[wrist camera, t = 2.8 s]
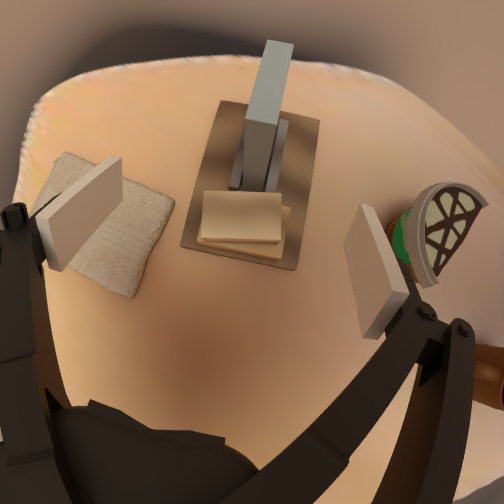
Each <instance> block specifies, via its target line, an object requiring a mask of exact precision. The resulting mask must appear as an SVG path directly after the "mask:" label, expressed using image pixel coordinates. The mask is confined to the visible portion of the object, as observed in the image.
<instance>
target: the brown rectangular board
mask: <svg viewBox="0 0 504 504" xmlns="http://www.w3.org/2000/svg"><path fill="white" fill-rule="evenodd" d="M248 106H249V105H248V104H242V103H236V102H230V101H223V100H221V102H220V105H219V108H218V111H217V114H216V117H215V120H214V124H213V127H212V130H211V133H210V137H209V140H208V143H207V146H206V150H205V153H204V157H203V160H202V164H201V167H200V171H199V174H198V178H197V181H196V185H195V189H194V192H193V196H192V200H191V204H190V208H189V211H188V215H187V219H186V223H185V227H184V231H183V236H182V240H181V244H180V246H181V247H183V248H188V249H192V250H197V251H202V252H206V253H211V254H216V255H221V256H225V257H230V258H235V259H240V260H245V261H249V262H254V263H259V264H264V265H269V266H273V267H278V268H283V269H288V270H293V271H295V270H296V268H297V263H298V257H299V252H300V246H301V241H302V235H303V229H304V223H305V218H306V212H307V205H308V199H309V193H310V187H311V180H312V174H313V167H314V160H315V153H316V146H317V139H318V131H319V123H320V120H317V119H313V118H309V117H305V116H301V115H297V114H293V113H288V112H284V111H280V113H279V117H278V122H277V127H276V131H275V136H274V140H273V144H272V149H271V153H270V158H269V162H268V166H267V171H266V175H265V180H264V184H263V189H262V192H267V193H281V206H286V207H291V209H290V214H289V220H288V225H287V231H286V236H285V241H284V247H283V252H282V257H281V259H280V260H279V261H274V260H269V259H264V258H260V257H255V256H250V255H245V254H240V253H236V252H231V251H226V250H221V249H216V248H212V247H207V246H202V245H200V244H199V243H198V242H197V237H198V233H199V229H200V224H201V220H202V211H203V196H204V191H242V188H243V158H244V131H245V117H246V113H247V110H248ZM242 192H247V191H242Z"/></svg>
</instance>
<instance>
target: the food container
mask: <svg viewBox="0 0 504 504" xmlns="http://www.w3.org/2000/svg"><path fill="white" fill-rule="evenodd" d="M487 205H489V204H488V202H487V201H486V200H485V198H484V197H483V196H482V195H481V194H480V193H479V192H478V191H476V190H475V189H474V188H472V187H470V186H469V185H466V184H463V183H458V182H444V183H438V184H435V185H432V186H429V187H428V188H426V189H425V190H423V191H422V192H421V193H420V194H419V196H418V197H417V199H416V200H415V202H414V204H413V206H412V207H410V208H409V209H408V210H406V211H405V212H403V213H402V214H400V215H399V216H397V217H396V218H394V219H393V220H392V221H391V222H390V223H389V225H388V226H387V228H386V230H385V231H384V232H385V234H386V236H387V239H388V241H389V243H390V246H391V248H392V250H393V253H394V255H395V257H396V258H399V259H402V260H403V261H404V263H405V264H406V265H407V266H408V268H409V270H410V273H411V276H412V277H413V280H414V282H415V283H420V285H421V286H422V288H427V287H431V286H433V285H434V284H439V281H438V280H437V277H438V275H439V273H440V272H441V270H442V269H443V267H444V266H445V265H446V263H447V262H448V260H449V259H450V258H451V256H452V255H453V254H454V252H455V251H456V250H457V249H458V247H459V246H460V245H461V243H462V242H463V241H464V239H465V237H466V235H467V233H468V231H469V229H470V227H471V225H472V223H473V222H474V220H475V218H476V217H477V215H478V213H479V212H480V210H481V208H483V207H485V206H487Z"/></svg>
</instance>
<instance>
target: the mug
mask: <svg viewBox="0 0 504 504" xmlns="http://www.w3.org/2000/svg"><path fill="white" fill-rule="evenodd" d="M472 400H475V401H477V402H479V403H482V404H484V405H487V406H490V407H492V408H495V409H499V410H503V411H504V348H502V347H495V346H488V345H476V346H475V369H474V387H473V399H472Z"/></svg>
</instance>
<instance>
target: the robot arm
mask: <svg viewBox="0 0 504 504" xmlns="http://www.w3.org/2000/svg"><path fill="white" fill-rule="evenodd" d="M122 201H123V188H122V157H114V156H110V157H108V158H107V159H105V160H104V161H103V162H101V163H100V164H98V165H97V166H96V167H94V168H93V169H92V170H90V171H89V172H88V173H86V174H85V175H84V176H83V177H81V178H80V179H79V180H77V181H76V182H75V183H74V184H72V185H71V186H70V187H69V188H67V189H66V190H65V191H64V192H62V193H60V194H58V195H56V196H54V197H53V198H52V199H50V200H49V201H48V203H46V204H45V205H43V207H41V208H40V209H39V210H38V211H37V212H35V213H34V214H33V215H32V216H31V217H30V218H29V217H28V212H27V208H26V204H24V203H20V202H18V203H13V204H11V205H9V206H7V207H6V208H4V209H3V210H2V211H1V214H0V215H1V219H2V222H3V226H4V229H5V230H0V427H1V433H2V437H3V441H1V442H0V504H313V503H314V502H315V501H316V500H317V499H318V498H319V497H320V496H321V495H322V494H323V493H324V492H325V491H326V490H327V489H328V488H329V486H330V485H331V484H332V483H333V482H334V481H335V480H336V479H337V478H338V477H339V475H340V474H341V473H342V472H343V471H344V469H345V468H346V467H347V465H348V463H349V458H350V456H351V455H352V453H353V452H354V451H355V450H356V448H357V447H358V446H359V445H360V443H361V442H362V441H363V440H364V438H365V437H366V436H367V434H368V433H369V432H370V430H371V429H372V428H373V426H374V425H375V424H376V422H377V421H378V420H379V418H380V417H381V415H382V414H383V413H384V411H385V410H386V408H387V407H388V405H389V404H390V402H391V401H392V399H393V398H394V396H395V395H396V393H397V392H398V390H399V389H400V387H401V385H402V384H403V382H404V381H405V379H406V377H407V376H408V374H409V372H410V371H411V369H412V367H413V366H414V364H415V363H418V364H419V365H418V369H417V374H416V378H415V382H414V386H413V390H412V394H411V397H410V401H409V405H408V408H407V412H406V415H405V418H404V421H403V425H402V428H401V431H400V434H399V437H398V440H397V443H396V445H395V448H394V451H393V454H392V456H391V459H390V461H389V464H388V467H387V469H386V471H385V474H384V476H383V479H382V481H381V483H380V486H379V488H378V490H377V492H376V494H375V497H374V499H373V501H372V503H371V504H452V501H453V498H454V495H455V491H456V488H457V484H458V480H459V476H460V472H461V468H462V463H463V459H464V454H465V449H466V443H467V437H468V431H469V425H470V417H471V409H472V399H473V387H474V369H475V334H474V331H473V329H472V327H471V326H470V325H469V323H468V322H466V321H465V320H463V319H460V318H456V319H454V320H453V321H452V322H451V323H450V325H449V324H446V323H444V322H442V321H440V320H438V319H437V314H436V312H435V310H434V309H433V308H432V307H431V306H430V305H429V304H427V303H426V302H424V301H422V300H421V297H420V295H419V292H418V290H417V287H416V285H415V282H414V280H413V277H412V276H411V273H410V270H409V268H408V266H407V265H406V264H405V263H404V261H403V260H402V259H399V258H396V257H395V255H394V253H393V250H392V248H391V246H390V243H389V241H388V239H387V236H386V234H385V232H384V230H383V227H382V225H381V223H380V221H379V219H378V217H377V214H376V212H375V210H374V208H373V207H372V206H368V205H365V204H361V203H360V205H359V208H358V210H357V213H356V215H355V218H354V220H353V223H352V225H351V228H350V230H349V233H348V235H347V238H346V240H345V243H344V248H345V253H346V257H347V262H348V266H349V271H350V276H351V280H352V285H353V290H354V295H355V300H356V306H357V311H358V317H359V323H360V328H361V334H362V338H368V339H376V340H378V339H379V337H380V336H381V335H382V333H383V332H384V331H385V335H386V339H385V341H384V342H383V343H382V345H381V346H380V347H379V348H378V350H377V351H376V352H375V353H374V355H373V356H372V357H371V359H370V360H369V361H368V362H367V363H366V365H365V366H364V367H363V368H362V370H361V371H360V372H359V373H358V374H357V375H356V377H355V378H354V379H353V380H352V381H351V382H350V384H349V385H348V386H347V387H346V388H345V389H344V390H343V391H342V393H341V394H340V395H339V396H338V397H337V398H336V399H335V400H334V401H333V402H332V403H331V404H330V405H329V407H328V408H327V409H326V410H325V411H324V412H323V413H322V414H321V415H320V416H319V417H318V418H317V419H316V420H315V421H314V422H313V423H312V424H311V425H310V426H309V427H308V428H307V429H306V430H305V431H304V432H303V433H302V434H301V435H300V436H298V437H297V438H296V439H295V440H294V441H293V442H292V443H291V444H290V445H289V446H288V447H287V448H285V449H284V450H283V451H282V452H281V453H280V454H279V455H278V456H276V457H275V458H274V459H273V460H272V461H271V462H269V463H268V464H267V465H266V466H265V467H263V468H262V469H261V470H260V471H259V470H258V468H257V467H256V466H255V465H254V464H253V463H252V462H251V461H250V460H249V459H248V458H247V457H246V456H244V455H243V454H241V453H240V452H238V451H237V450H235V449H233V448H231V447H229V446H227V445H224V444H225V438H224V437H219V436H213V435H208V434H204V433H199V432H194V431H190V430H154V429H150V428H148V427H146V426H145V425H143V424H141V423H140V422H138V421H136V420H135V419H133V418H131V417H130V416H128V415H127V414H125V413H124V412H122V411H120V410H118V409H115V408H112V407H109V406H107V405H104V404H101V403H99V402H96V401H94V400H91V399H90V401H89V403H88V406H73V407H72V405H71V403H70V401H69V399H68V397H67V395H66V392H65V388H64V385H63V381H62V377H61V373H60V369H59V365H58V361H57V356H56V351H55V347H54V342H53V336H52V331H51V325H50V319H49V312H48V305H47V297H46V289H45V279H44V269H43V266H42V263H43V261H44V260H45V259H47V262H48V266H49V268H50V269H53V270H56V271H59V272H62V271H63V270H64V269H65V267H66V266H67V265H68V264H69V262H70V261H71V260H72V258H73V257H74V256H75V255H76V254H77V252H78V251H79V250H80V249H81V247H82V246H83V245H84V244H85V243H86V241H87V240H88V239H89V238H90V237H91V236H92V234H93V233H94V232H95V231H96V230H97V229H98V227H99V226H100V225H101V224H102V223H103V222H104V221H105V220H106V218H107V217H108V216H109V215H110V214H111V213H112V212H113V211H114V210H115V209H116V207H117V206H118V205H119V204H120V203H121V202H122Z"/></svg>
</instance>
